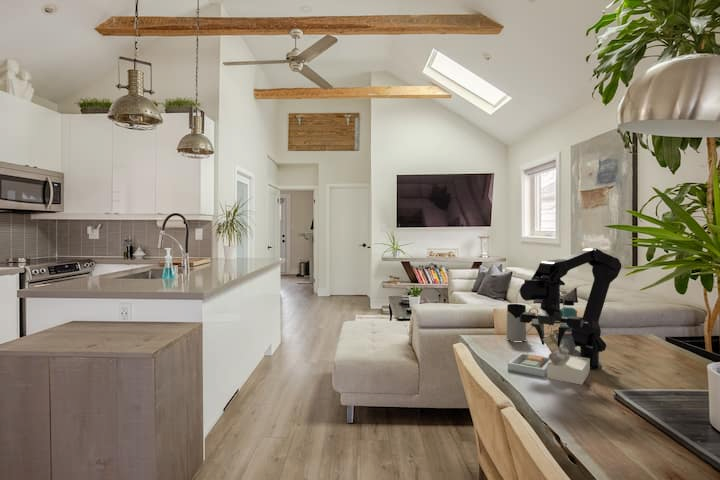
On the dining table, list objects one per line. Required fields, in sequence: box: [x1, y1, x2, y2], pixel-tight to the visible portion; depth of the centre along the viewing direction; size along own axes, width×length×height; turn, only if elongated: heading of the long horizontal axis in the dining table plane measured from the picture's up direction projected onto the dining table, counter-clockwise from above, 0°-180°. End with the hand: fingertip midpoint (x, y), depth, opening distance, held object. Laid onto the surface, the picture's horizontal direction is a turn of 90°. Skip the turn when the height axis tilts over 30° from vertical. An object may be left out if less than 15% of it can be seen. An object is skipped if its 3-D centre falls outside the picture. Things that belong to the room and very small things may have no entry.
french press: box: [547, 290, 576, 356], centre depth 157 cm, size 10×12×25 cm
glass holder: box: [505, 303, 539, 341], centre depth 183 cm, size 9×14×15 cm, turn 93°
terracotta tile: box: [527, 354, 545, 367], centre depth 147 cm, size 4×4×2 cm
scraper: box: [542, 333, 569, 365], centre depth 140 cm, size 14×2×8 cm
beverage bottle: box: [559, 298, 578, 348], centre depth 167 cm, size 6×7×20 cm
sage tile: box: [522, 360, 539, 368], centre depth 141 cm, size 4×4×2 cm
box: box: [507, 352, 551, 378], centre depth 145 cm, size 15×12×2 cm
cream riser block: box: [546, 355, 591, 386], centre depth 138 cm, size 15×10×4 cm, turn 144°
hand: (550, 345), depth 141 cm, fingers closed on scraper, 4 cm apart
